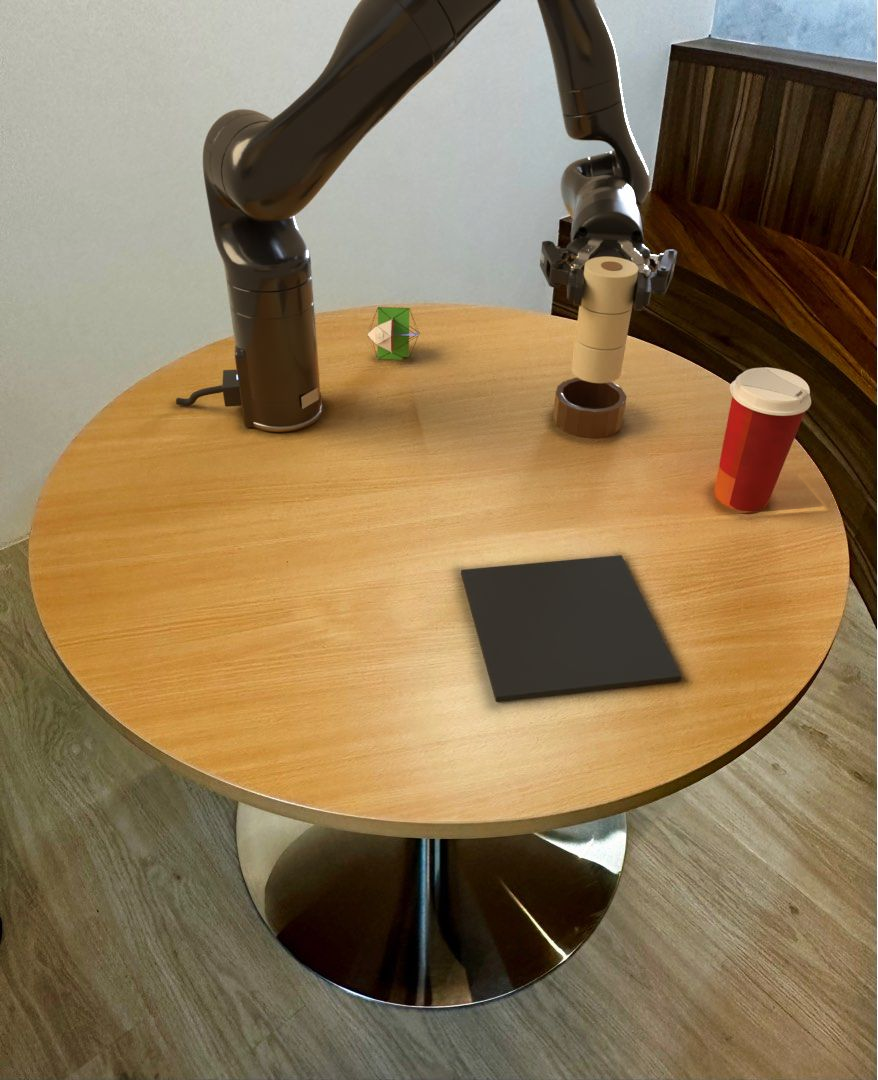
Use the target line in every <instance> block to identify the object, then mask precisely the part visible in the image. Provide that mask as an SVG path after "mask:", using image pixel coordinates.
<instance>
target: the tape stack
mask: <svg viewBox="0 0 878 1080" xmlns="http://www.w3.org/2000/svg"><path fill="white" fill-rule="evenodd" d="M637 275H638V267H637V265H636V264H634V263H633V262H631V261H629V260H626V259H622V258H617V257H596V258H592V259H590V260H588V261H587V262H586V263H585V267H584V287H583V295H582V302H581V306H578V314H577V323H576V329H575V337H574V344H573V354H572V360H571V373H572V374H573V376H575V378H579V379H581V380H584V381H587V382H592V383H608V382H615V381H616V380H618V379H619V378H620V377H621V374H622V369H623V363H624V358H625V353H626V352H625V351H626V345H627V341H628V333H629V328H630V321H631V317H632V310H633V299H634V293H635V287H636V281H637Z"/></svg>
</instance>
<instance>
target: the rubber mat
mask: <svg viewBox="0 0 878 1080" xmlns="http://www.w3.org/2000/svg"><path fill="white" fill-rule="evenodd" d="M460 575H461V579H462V583H463V587H464V590H465V594H466V597H467V601H468V605H469V609H470V612H471V616H472V620H473V624H474V627H475V630H476V631H475V632H476V635H477V638H478V642H479V646H480V649H481V653H482V657H483V660H484V664H485V667H486V671H487V675H488V678H489V679H488V680H489V683H490V686H491V690H492V693H493V697H494V701H495V702H504V701H514V700H515V701H516V700H524V699H531V698H532V699H533V698H540V697H548V696H559V695H565V694H566V695H568V694H576V693H585V692H586V693H587V692H593V691H601V690H602V691H603V690H610V689H620V688H629V687H630V688H631V687H638V686H647V685H655V684H666V683H673V682H681V680H682V678H683V676H682V674H681V672H680V670H679V668H678V666H677V664H676V661H675V660H674V658H673V655H672V654H671V651H670V649H669V648H668V646H667V643H666V642H665V640H664V638H663V636H662V633H661V632H660V629H659V628H658V626H657V624H656V622H655V620H654V617H653V615H652V613H651V612H650V610H649V608H648V605H647V604H646V601H645V599H644V597H643V596H642V593H641V592H640V589H639V588H638V585H637V584H636V581H635V579H634V577H633V576H632V572H630V569H629V567H628V565H627V563H626V562H625V560H624V557H623V555H622V554H620V555H619V554H618V555H617V554H616V555H606V556H595V557H586V558H574V559H565V560H552V561H542V562H541V561H540V562H532V563H521V564H520V563H519V564H510V565H499V566H498V565H497V566H488V567H487V566H485V567H476V568H466V569H461V570H460Z"/></svg>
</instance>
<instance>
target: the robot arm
mask: <svg viewBox="0 0 878 1080" xmlns="http://www.w3.org/2000/svg"><path fill="white" fill-rule="evenodd" d="M501 1H502V0H360V1H359V2H358V3H357V5H356V6H355V8H353V9H354V10H353V11H352V13H351V14H350V16H349V18H348V20H347V22H346V23H345V26H344V27H343V30H342V31H341V34H340V36H339V38H338V41H337V43H336V46H335V48H334V50H333V53H332V55H331V57H330V59H329V60H328V63H327V64H326V66H325V67H324V68H323V71H322V72H321V73H320V75H319V76H318V77H317V78H316V80H315V81H314V82H312V84H311V85H310V86H309V87H308V88H307V89H306V90H305V91H304V92H303V93H302V94H300V95H299V96H298V98H296V99H295V100H294V101H293V102H292V103H291V104H290V105H289V106H287V107H286V108H285V109H284V110H283V111H281V112H280V113H279V114H277V115H276V116H274V117H273V118H272V117H270V116H268V115H267V114H264V113H262V112H259V111H257V110H254V109H247V108H245V109H244V108H239V109H234V110H230V111H227V112H226V113H224V114H222V115H221V116H220V117H219V118H217V120H215V121H214V123H213V124H212V125H211V127H210V128H209V130H208V132H207V134H206V136H205V140H204V143H203V148H202V171H203V180H204V185H205V186H204V187H205V193H206V198H207V205H208V210H209V217H210V221H211V228H212V232H213V237H214V242H215V245H216V248H217V251H218V252H219V255H220V259H221V260H222V264H223V268H224V273H225V274H224V275H225V280H226V281H225V282H226V287H227V288H226V289H227V294H228V295H227V296H228V302H229V303H228V304H229V310H230V316H231V325H232V332H233V339H234V360H235V369H223V370H222V384H221V385H215V386H210V387H205V388H201V389H198V390H196V391H193V392H192V393H191V395H190V396H189V397H188V398H184V397H183V398H182V397H176V399H175V403H176V405H177V406H184V407H185V406H193V405H195V403H196V402H197V400H198V399H199V398H202V397H205V396H210V395H215V394H221V393H222V396H223V401H224V403H223V404H224V408H225V407H241V411H242V418H243V419H242V420H243V426H244V428H256V429H258V430H261V431H266V432H272V433H287V432H293V431H298V430H301V429H304V428H307V427H309V426H311V425H313V424H314V423H316V422H317V421H318V420H319V419H320V418H321V416H322V414H323V402H322V393H321V382H320V369H319V356H318V354H319V353H318V343H317V342H318V340H317V339H318V338H317V328H316V327H317V326H316V314H315V301H314V300H315V299H314V290H313V289H314V288H313V286H314V285H313V277H312V276H313V272H312V271H313V270H312V260H311V253H310V249H309V247H308V245H307V243H306V241H305V239H304V237H303V236H302V234H301V231H300V229H299V227H298V223H297V220H296V218H295V216H296V215H298V214H299V213H300V212H302V211H303V210H304V209H305V208H306V207H307V206H308V205H309V204H310V203H311V202H312V201H313V200H314V198H315V197H316V196H317V195H318V194H319V193H320V191H321V190H322V189H323V187H324V186H325V185H326V184H327V182H328V181H329V180H330V179H331V178H332V176H333V175H335V172H337V170H338V169H339V168H340V166H341V165H342V164H343V163H344V161H345V160H346V159H347V158H348V157H349V155H350V154H351V153H352V152H353V151H354V149H356V147H357V146H358V144H359V143H360V142H361V141H362V140H363V139H364V138H365V137H366V136H367V135H368V134H369V133H370V132H371V131H372V130H373V129H374V128H375V127H376V126H377V125H378V124H379V123H381V121H382V120H383V119H384V118H385V117H386V116H387V115H388V114H390V112H392V110H393V109H394V108H395V107H396V106H397V105H398V104H399V103H400V102H401V101H402V100H403V99H404V98H405V97H406V96H407V95H408V94H409V93H410V92H411V91H412V90H413V89H414V88H415V87H416V86H417V85H418V84H419V83H421V82H422V81H423V80H424V79H425V78H426V77H427V76H429V74H431V73H432V72H433V71H434V70H435V69H436V68H437V67H438V66H439V65H440V64H441V63H442V62H443V61H444V60H445V59H446V58H447V57H448V56H449V55H450V54H451V53H452V52H453V51H454V50H455V49H456V48H457V47H458V46H459V45H460V44H461V43H462V42H463V41H464V39H465V38H466V37H467V36H468V35H469V34H470V32H472V31H473V29H474V28H476V26H478V25H479V24H480V23H481V22H482V21H483V20H484V19H485V18H486V17H487V16H488V15H489V14H490V13H491V11H493V10H494V8H496V7H497V5H498V4H499V3H501ZM536 3H537V5H538V9H539V12H540V15H541V19H542V22H543V26H544V29H545V32H546V37H547V41H548V45H549V51H550V54H551V59H552V63H553V64H552V65H553V69H554V75H555V81H556V86H557V92H558V98H559V103H560V110H561V114H562V120H563V125H564V129H565V133H566V135H567V136H568V138H570V139H572V140H574V141H581V142H582V141H583V142H584V141H585V142H588V141H589V142H590V141H593V142H604V143H606V144H608V145H609V146H610V147H611V148H612V149H613V150H612V151H608V152H603V153H600V154H596V155H592V156H587V157H583V158H580V159H576V160H575V161H573V162H571V163H570V164H568V165H567V166H566V167H565V168H564V170H563V172H562V174H561V177H560V194H561V199H562V202H563V205H564V207H565V209H566V212H567V213H568V215H569V216H570V217H571V219H572V222H571V230H570V233H569V234H570V242H569V243H568V244H567V246H566V248H563V247H562V248H561V246H560V245H556V244H555V242H554V241H552V240H543V241H542V242H541V250H540V261H539V267H540V270H541V272H542V274H543V276H544V277H545V280H546V283H547V285H548V286H549V287H550V288H555V289H557V288H561V286H562V285H563V286H565V287H566V299H567V300H568V301H573V306H574V307H579V306H581V302H582V295H583V287H584V267H585V263H586V262H587V261H588V260H590V259H592V258H596V257H617V258H622V259H626V260H629V261H631V262H633V263H634V264H636V265H637V267H638V275H637V281H636V287H635V293H634V299H633V305H632V307H633V311H643V307H648V306H649V305H650V302H651V296H652V294H654V295H655V296H665V295H666V293H667V291H668V288H669V286H670V284H671V281H672V279H673V276H674V273H675V266H676V262H677V256H678V251H677V250H675V249H666V250H665V251H664V252H663V253H662V252H661V253H659V254H658V255H657V254H651V250H650V249H649V248H648V247H646V245H645V239H644V233H643V230H644V229H643V224H642V217H641V213H640V211H639V207H640V206H642V205H643V204H644V202H645V201H646V200H647V198H648V195H649V192H650V187H651V179H650V174H649V170H648V167H647V165H646V163H645V160H644V158H643V155H642V153H641V151H640V149H639V147H638V145H637V143H636V140H635V137H634V136H633V133H632V131H631V128H630V125H629V121H628V117H627V114H626V108H625V103H624V97H623V91H622V90H623V89H622V83H621V76H620V75H621V74H620V67H619V62H618V56H617V53H616V48H615V44H614V41H613V38H612V35H611V33H610V30H609V27H608V26H607V24H606V21H605V19H604V17H603V15H602V13H601V11H600V8H599V7H598V5H597V2H596V1H595V0H536ZM564 263H566V264H567V265H565V264H564ZM651 268H652V269H651Z"/></svg>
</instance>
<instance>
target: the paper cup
mask: <svg viewBox="0 0 878 1080" xmlns="http://www.w3.org/2000/svg"><path fill="white" fill-rule="evenodd" d="M729 390H730V395H731V400H730V405H729V411H728V416H727V421H726V427H725V430H724V431H725V432H724V437H723V442H722V446H721V452H720V457H719V463H718V467H717V473H716V478H715V484H714V496H715V498H716V499H717V500H718V501H719V502H720V503H721V504H723V505H725V506H726V507H728V508H731V509H732V510H733V509H734V510H735V511H736V510H737V511H742V512H739V514H741V515H755V514H758V513H760V512H761V510H763V509H764V508H765V507H766V506H767V505H768V503H769V501H770V500H771V497H772V494H773V492H774V490H775V487H776V485H777V481H778V479H779V477H780V475H781V471H782V470H783V467H784V464H785V462H786V460H787V458H788V455H789V452H790V450H791V447H792V445H793V443H794V441H795V438H796V435H797V434H798V433H797V432H798V431H799V428H800V425H801V422H802V421H803V417H804V414H805V413H806V412H807V411H808V410H809V409H810V407H811V405H812V398H811V395H810V394H811V389H810V386H809V385H808V383H807V382H806V380H804V379H803V378H802V377H801V376H799V375H797V374H795V373H792V372H790V371H788V370H784V369H781V368H775V367H767V366H766V367H753V368H748V369H746V370H745V371H743V372H742V373H740V374H739V375H738V376H736V378H735V380H733V381H732V382H731V383H730V385H729Z"/></svg>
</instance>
